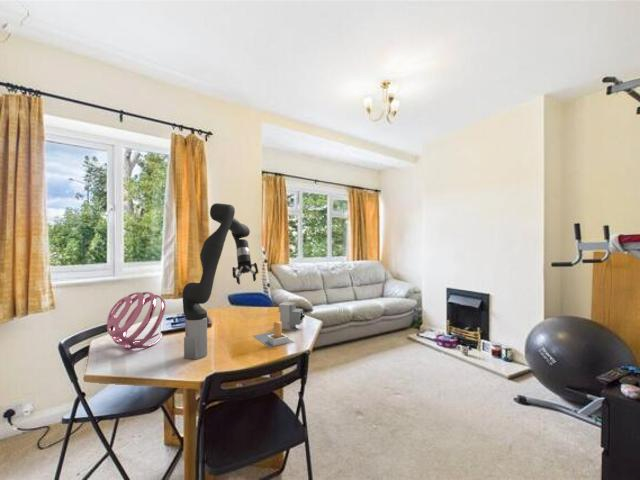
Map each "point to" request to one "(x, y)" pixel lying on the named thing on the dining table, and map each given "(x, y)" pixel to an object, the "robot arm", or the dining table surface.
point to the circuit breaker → (290, 315)
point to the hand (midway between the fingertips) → (246, 282)
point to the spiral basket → (121, 333)
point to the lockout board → (272, 339)
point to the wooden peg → (277, 329)
